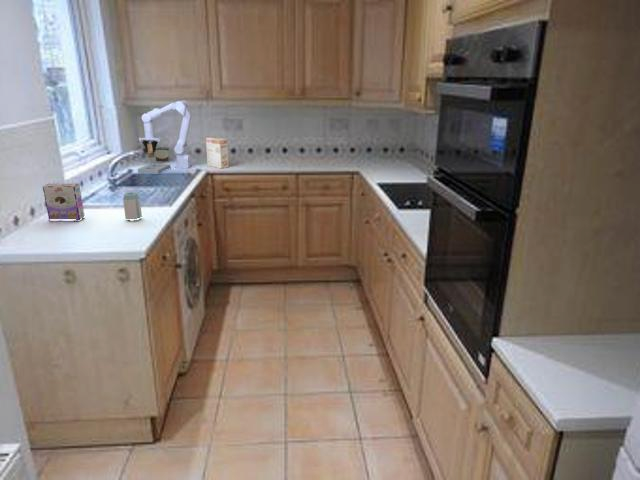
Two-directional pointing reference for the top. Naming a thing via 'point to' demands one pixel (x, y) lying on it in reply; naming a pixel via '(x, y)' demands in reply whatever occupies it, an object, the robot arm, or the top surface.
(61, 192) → the candy box
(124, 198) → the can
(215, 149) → the coffeecake box
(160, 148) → the food container
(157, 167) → the board
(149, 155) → the peg
